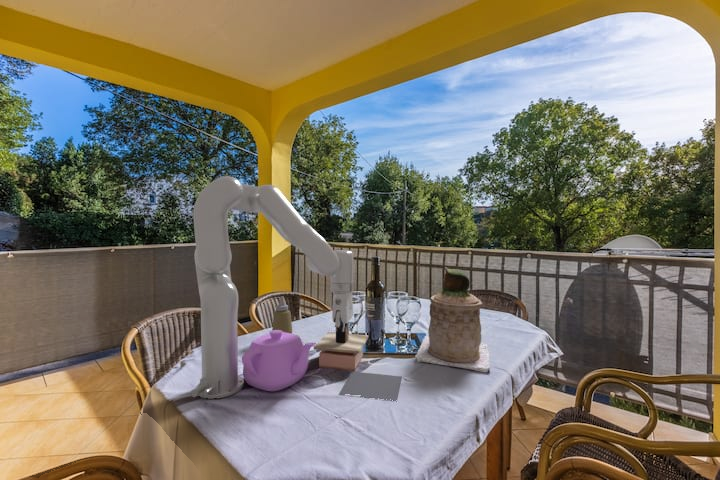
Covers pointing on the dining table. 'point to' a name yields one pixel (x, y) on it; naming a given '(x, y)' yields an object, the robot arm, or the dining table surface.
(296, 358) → the teapot
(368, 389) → the mat
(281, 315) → the squeeze bottle
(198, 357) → the dining table surface
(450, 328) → the cookie jar
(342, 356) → the dish
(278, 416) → the dining table surface
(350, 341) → the lid
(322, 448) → the dining table surface
